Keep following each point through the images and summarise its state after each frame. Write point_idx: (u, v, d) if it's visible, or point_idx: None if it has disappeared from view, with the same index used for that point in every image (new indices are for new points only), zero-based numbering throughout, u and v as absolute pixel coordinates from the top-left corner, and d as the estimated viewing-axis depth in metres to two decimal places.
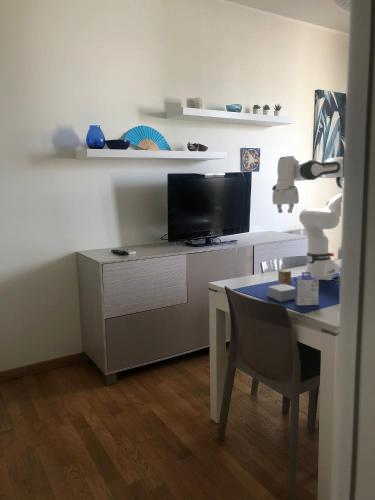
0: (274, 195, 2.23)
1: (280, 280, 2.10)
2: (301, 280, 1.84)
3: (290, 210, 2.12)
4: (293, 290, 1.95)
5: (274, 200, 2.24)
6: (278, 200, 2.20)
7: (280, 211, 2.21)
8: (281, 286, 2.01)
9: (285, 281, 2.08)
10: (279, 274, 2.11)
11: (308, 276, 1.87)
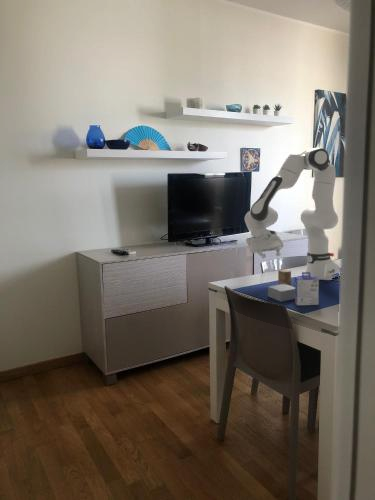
0: None
1: (280, 280, 2.10)
2: (301, 280, 1.84)
3: (262, 256, 2.17)
4: (293, 290, 1.95)
5: None
6: None
7: (277, 254, 2.21)
8: (281, 286, 2.01)
9: (285, 281, 2.08)
10: (279, 274, 2.11)
11: (308, 276, 1.87)
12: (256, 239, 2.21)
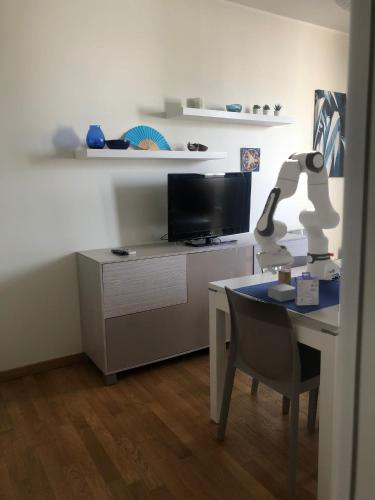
0: None
1: (280, 280, 2.10)
2: (301, 280, 1.84)
3: (272, 272, 2.10)
4: (293, 290, 1.95)
5: None
6: None
7: None
8: (281, 286, 2.01)
9: (285, 281, 2.08)
10: (279, 274, 2.11)
11: (308, 276, 1.87)
12: (266, 254, 2.14)
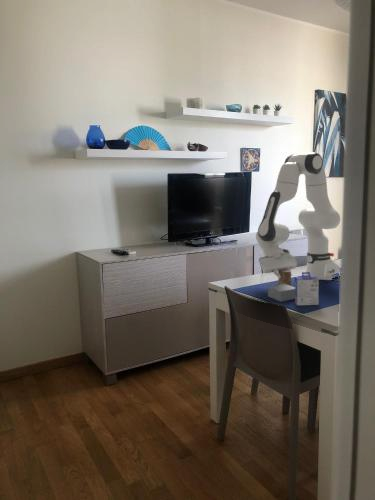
0: None
1: (280, 280, 2.10)
2: (301, 280, 1.84)
3: (278, 276, 2.09)
4: (293, 290, 1.95)
5: None
6: None
7: None
8: (281, 286, 2.01)
9: (285, 281, 2.08)
10: None
11: (308, 276, 1.87)
12: (269, 259, 2.12)
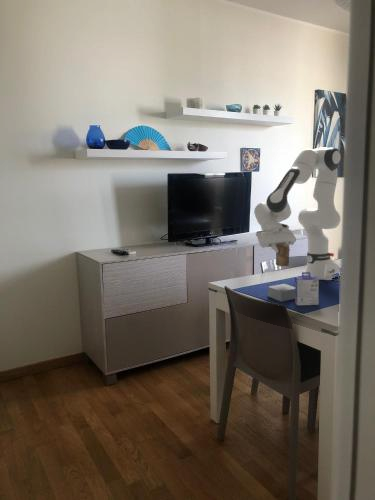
0: None
1: (278, 255, 2.03)
2: (301, 280, 1.84)
3: (276, 250, 2.01)
4: (293, 290, 1.95)
5: None
6: None
7: None
8: (281, 286, 2.01)
9: (282, 255, 2.00)
10: None
11: (308, 276, 1.87)
12: (267, 233, 2.04)
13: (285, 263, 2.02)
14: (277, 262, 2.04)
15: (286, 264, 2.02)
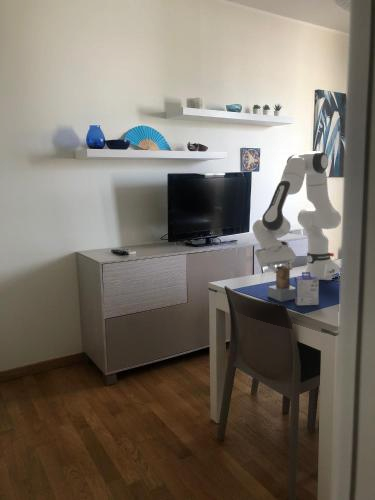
0: None
1: (278, 277, 1.97)
2: (301, 280, 1.84)
3: (273, 270, 1.95)
4: (293, 290, 1.95)
5: None
6: None
7: None
8: None
9: (283, 277, 1.95)
10: None
11: (308, 276, 1.87)
12: (266, 251, 1.98)
13: (285, 286, 1.96)
14: (277, 284, 1.98)
15: (287, 286, 1.96)
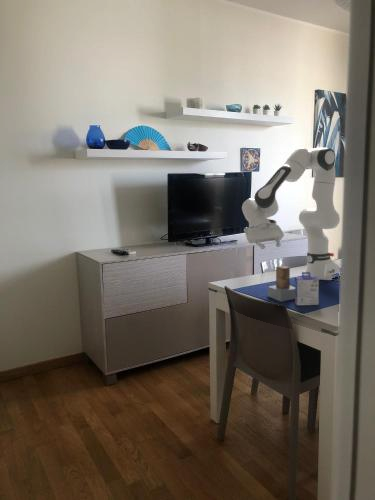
0: None
1: (278, 277, 1.97)
2: (301, 280, 1.84)
3: (261, 246, 2.02)
4: (293, 290, 1.95)
5: None
6: None
7: (277, 245, 2.06)
8: None
9: (283, 277, 1.95)
10: (277, 271, 1.97)
11: (308, 276, 1.87)
12: (254, 229, 2.05)
13: (285, 286, 1.96)
14: (277, 284, 1.98)
15: (287, 286, 1.96)
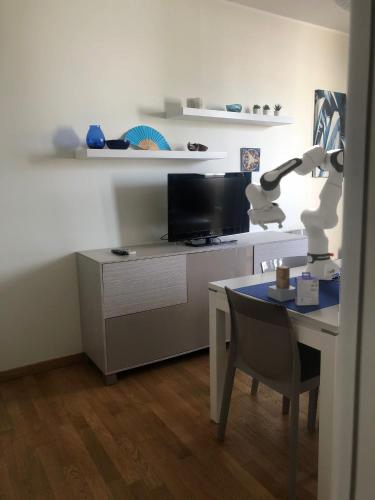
0: None
1: (278, 277, 1.97)
2: (301, 280, 1.84)
3: (263, 227, 2.09)
4: (293, 290, 1.95)
5: None
6: None
7: (279, 227, 2.13)
8: None
9: (283, 277, 1.95)
10: (277, 271, 1.97)
11: (308, 276, 1.87)
12: (257, 211, 2.13)
13: (285, 286, 1.96)
14: (277, 284, 1.98)
15: (287, 286, 1.96)
